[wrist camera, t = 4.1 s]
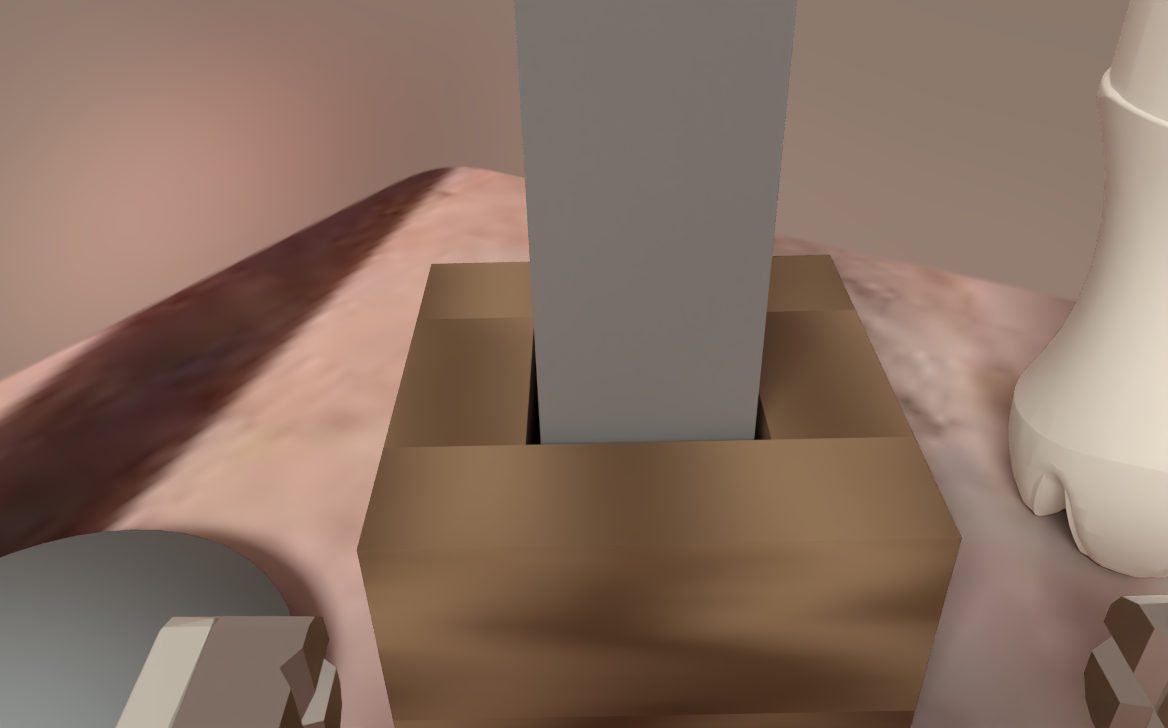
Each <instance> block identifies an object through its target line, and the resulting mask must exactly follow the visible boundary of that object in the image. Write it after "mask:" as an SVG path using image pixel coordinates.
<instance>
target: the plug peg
mask: <svg viewBox="0 0 1168 728" xmlns="http://www.w3.org/2000/svg"><path fill="white" fill-rule="evenodd" d="M514 2H515V19H516V36H517V53H518V70H519V86H520V103H521V119H522V136H523V153H524V170H525V187H526V203H527V220H528V237H529V253H530V270H531V287H532V303H533V320H534V337H535V353H536V370H537V387H538V403H539V420H540V437H541V445H543V444H590V443H636V442H683V441H730V440H754V436H755V426H756V415H757V405H758V395H759V385H760V374H761V364H762V354H763V344H764V334H765V323H766V313H767V303H768V293H769V282H770V272H771V262H772V252H773V241H774V231H775V221H776V210H777V201H778V189H779V180H780V170H781V159H782V149H783V139H784V129H785V119H786V108H787V97H788V87H789V78H790V67H791V57H792V47H793V37H794V26H795V16H796V6H797V0H514Z"/></svg>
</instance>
